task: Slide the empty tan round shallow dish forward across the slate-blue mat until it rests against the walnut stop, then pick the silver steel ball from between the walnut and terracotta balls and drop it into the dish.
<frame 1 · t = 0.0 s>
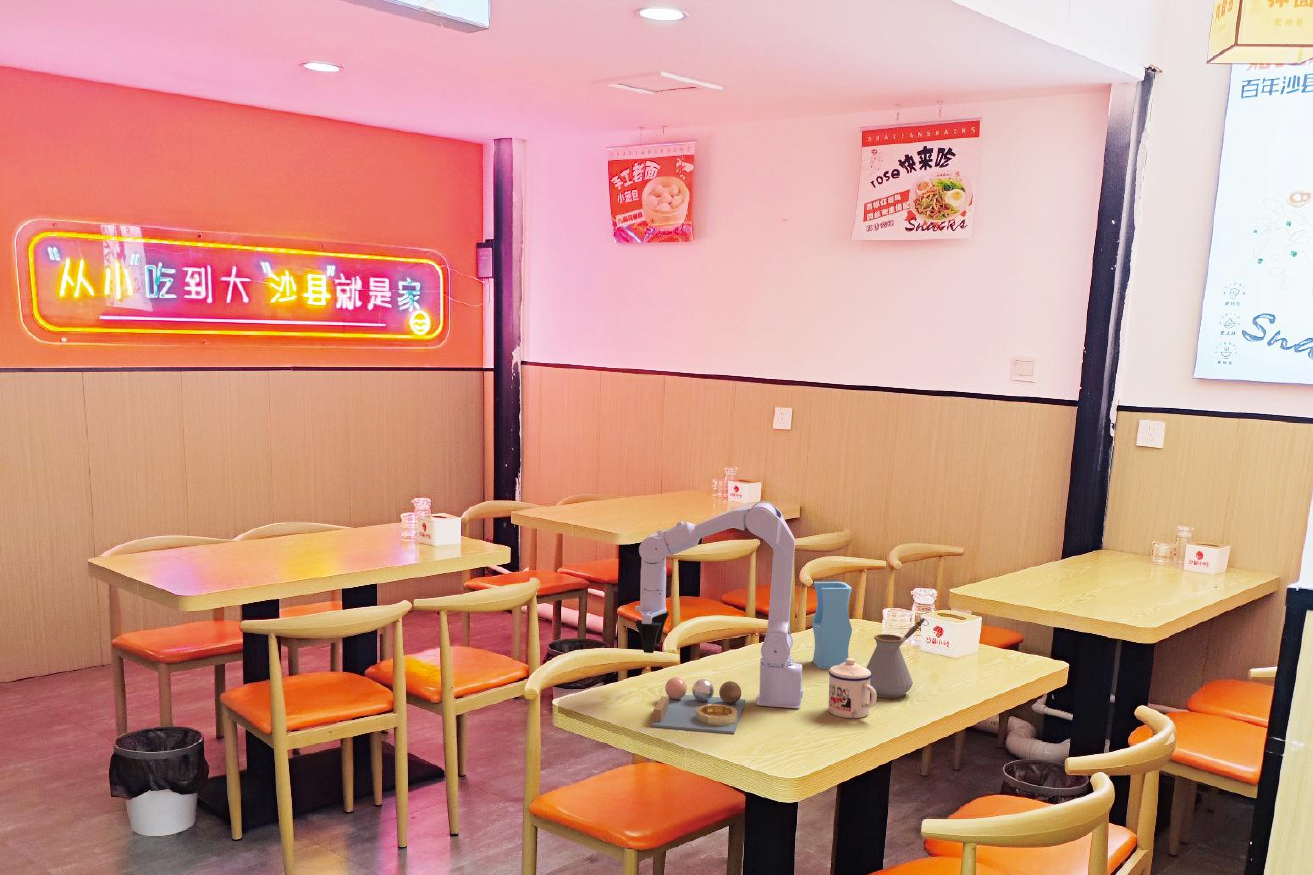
hand: (652, 648, 241), 10 cm above the table, tool pointing down, fingers open, 7 cm apart
vase: (830, 665, 267), on the table
coffee pot: (898, 689, 248), on the table
teacup with lid: (853, 714, 230), on the table
terracotta ball: (675, 688, 236), point 3 cm above the table, touching slate mat
tan round shallow dish: (716, 719, 223), resting on slate mat
walnut ball: (730, 692, 234), point 3 cm above the table, touching slate mat
silver steel ball: (703, 690, 235), point 3 cm above the table, touching slate mat
slate mat: (700, 713, 228), on the table
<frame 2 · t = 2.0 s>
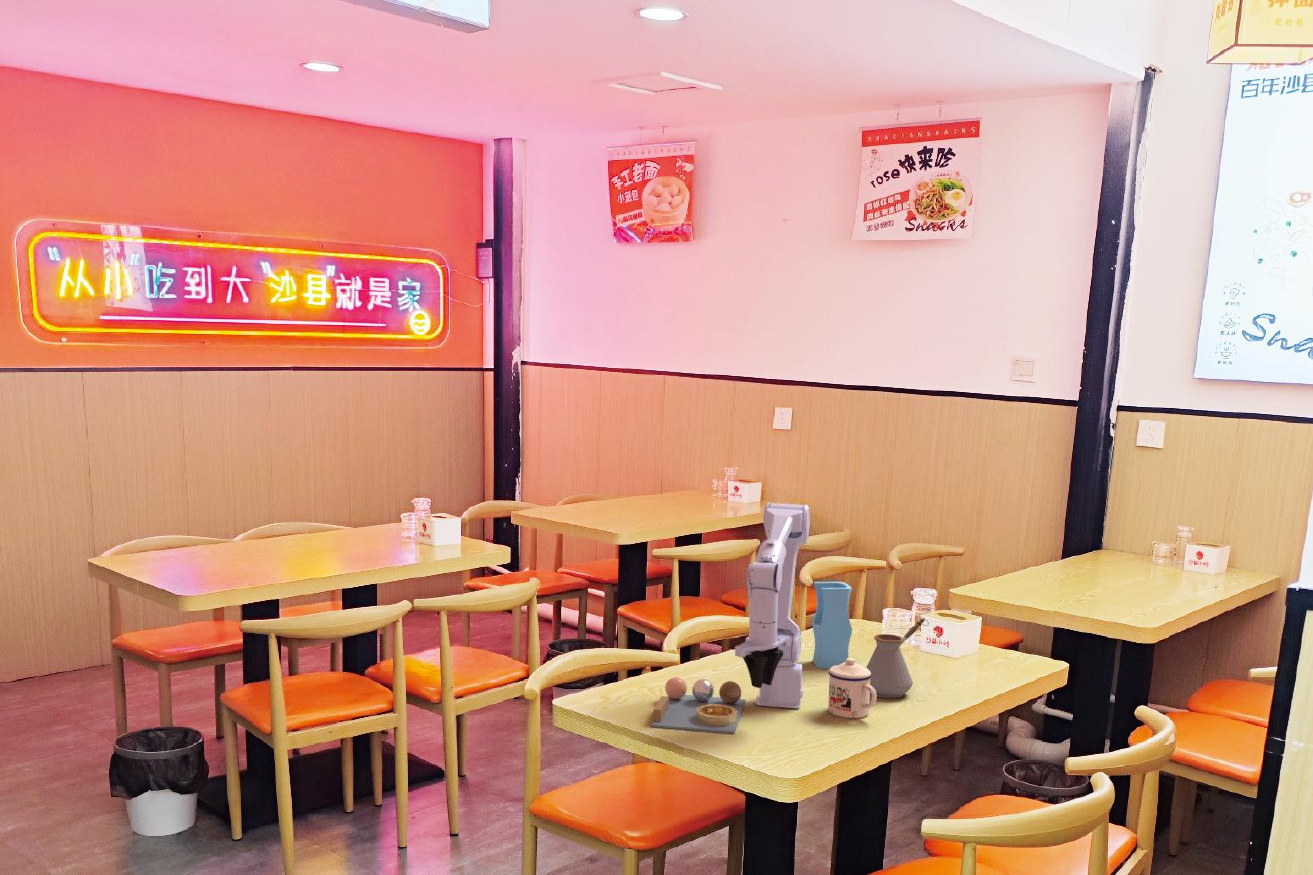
hand: (761, 685, 221), 8 cm above the table, tool pointing down, fingers closed
nothing on the table moved.
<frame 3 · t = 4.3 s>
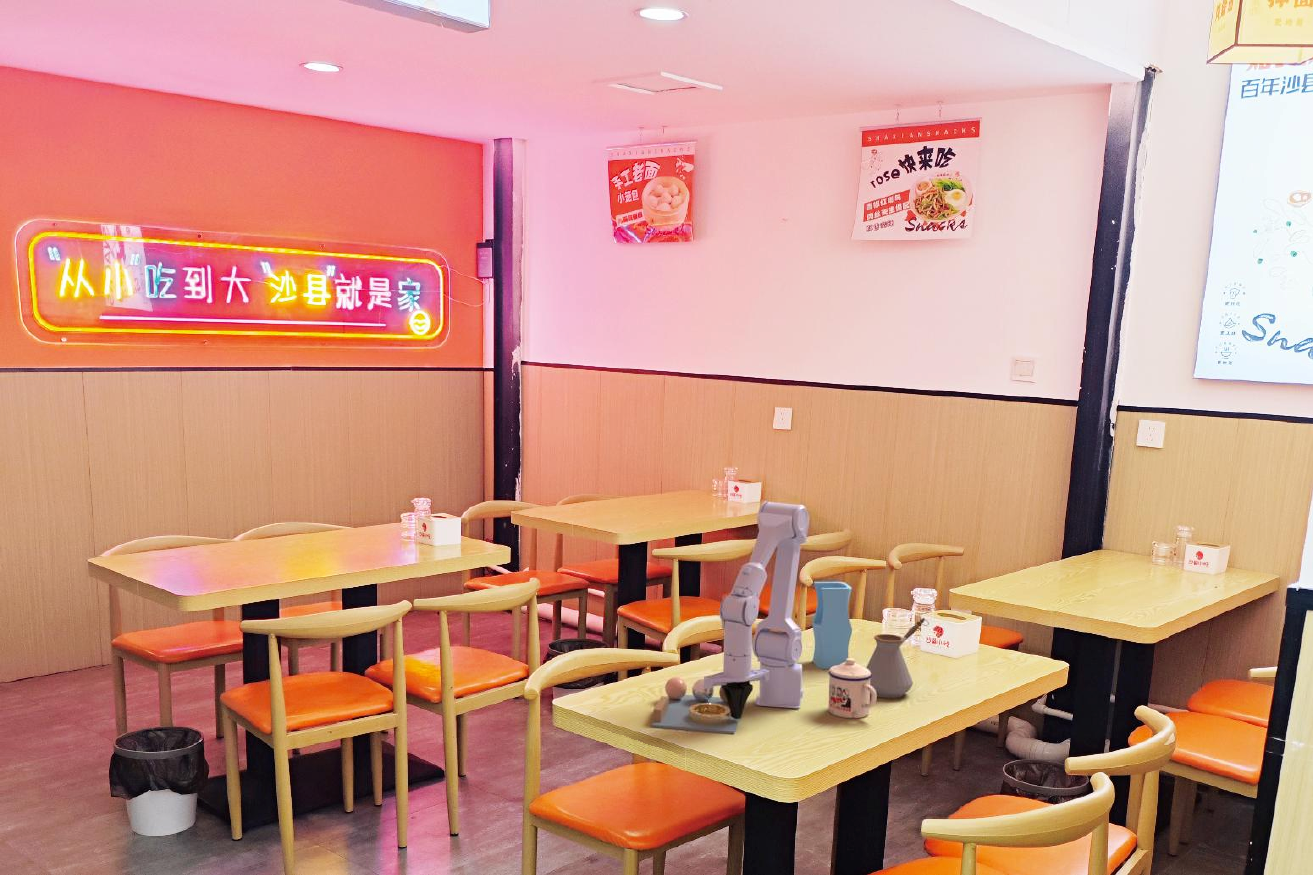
hand: (735, 717, 222), 1 cm above the table, tool pointing down, fingers closed
tan round shallow dish: (709, 717, 224), point 1 cm above the table, touching gripper, slate mat
everything else where it was.
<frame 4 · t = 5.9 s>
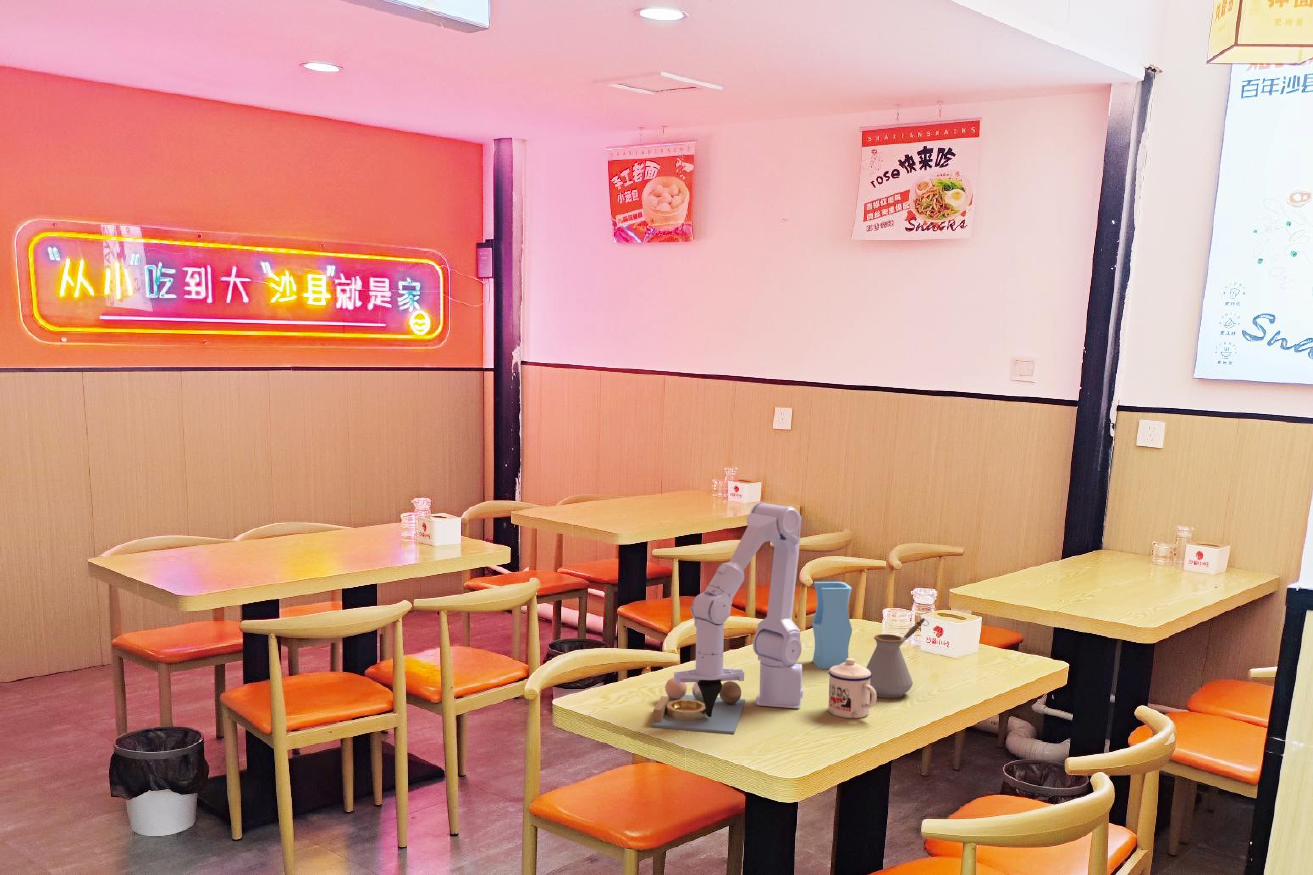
hand: (708, 715, 223), 1 cm above the table, tool pointing down, fingers closed, pressing on tan round shallow dish
tan round shallow dish: (686, 713, 226), point 1 cm above the table, touching gripper, slate mat
everything else where it was.
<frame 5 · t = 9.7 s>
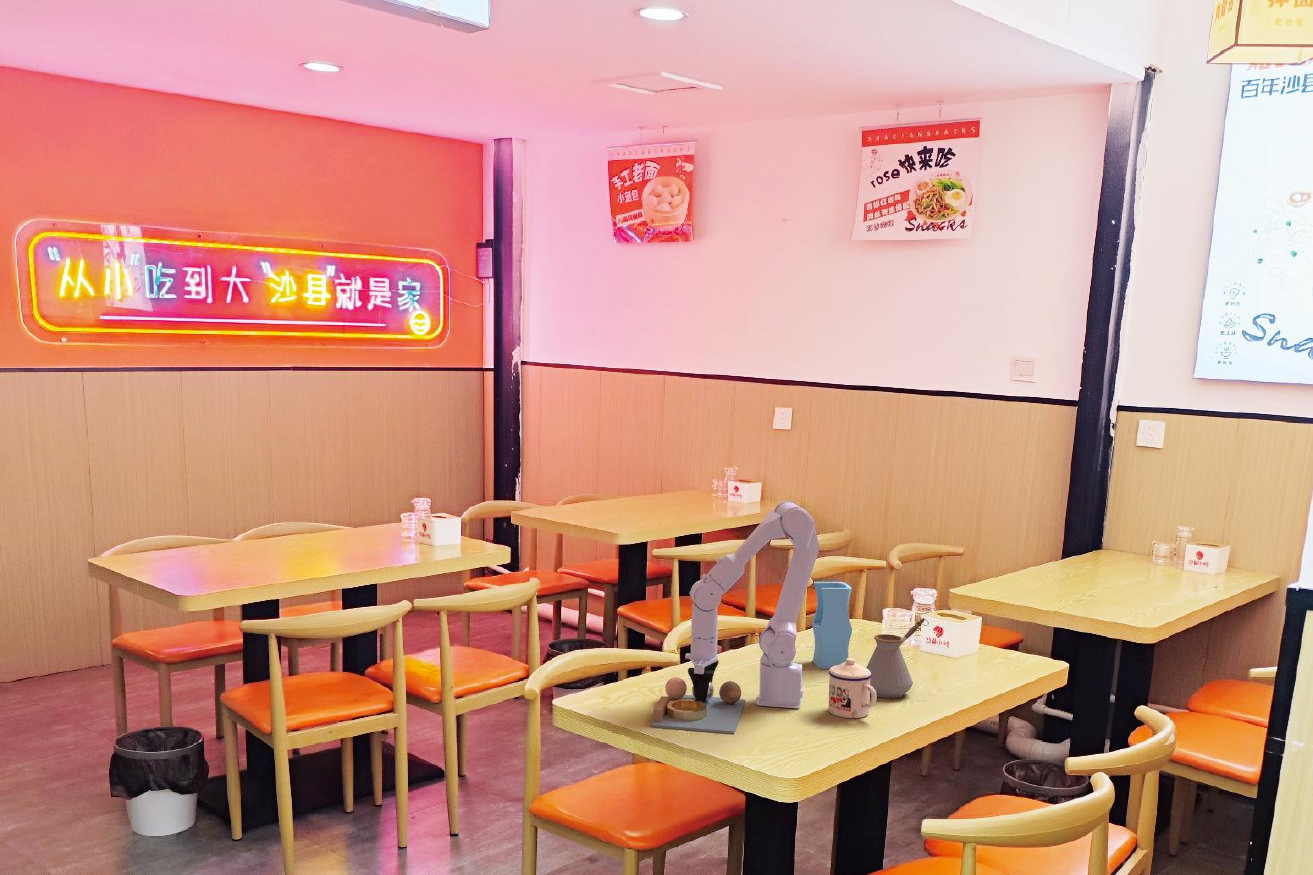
hand: (702, 697, 235), 1 cm above the table, tool pointing down, fingers closed on silver steel ball, 5 cm apart
tan round shallow dish: (686, 713, 226), resting on slate mat
silver steel ball: (703, 690, 235), point 3 cm above the table, touching gripper, slate mat
everything else where it was.
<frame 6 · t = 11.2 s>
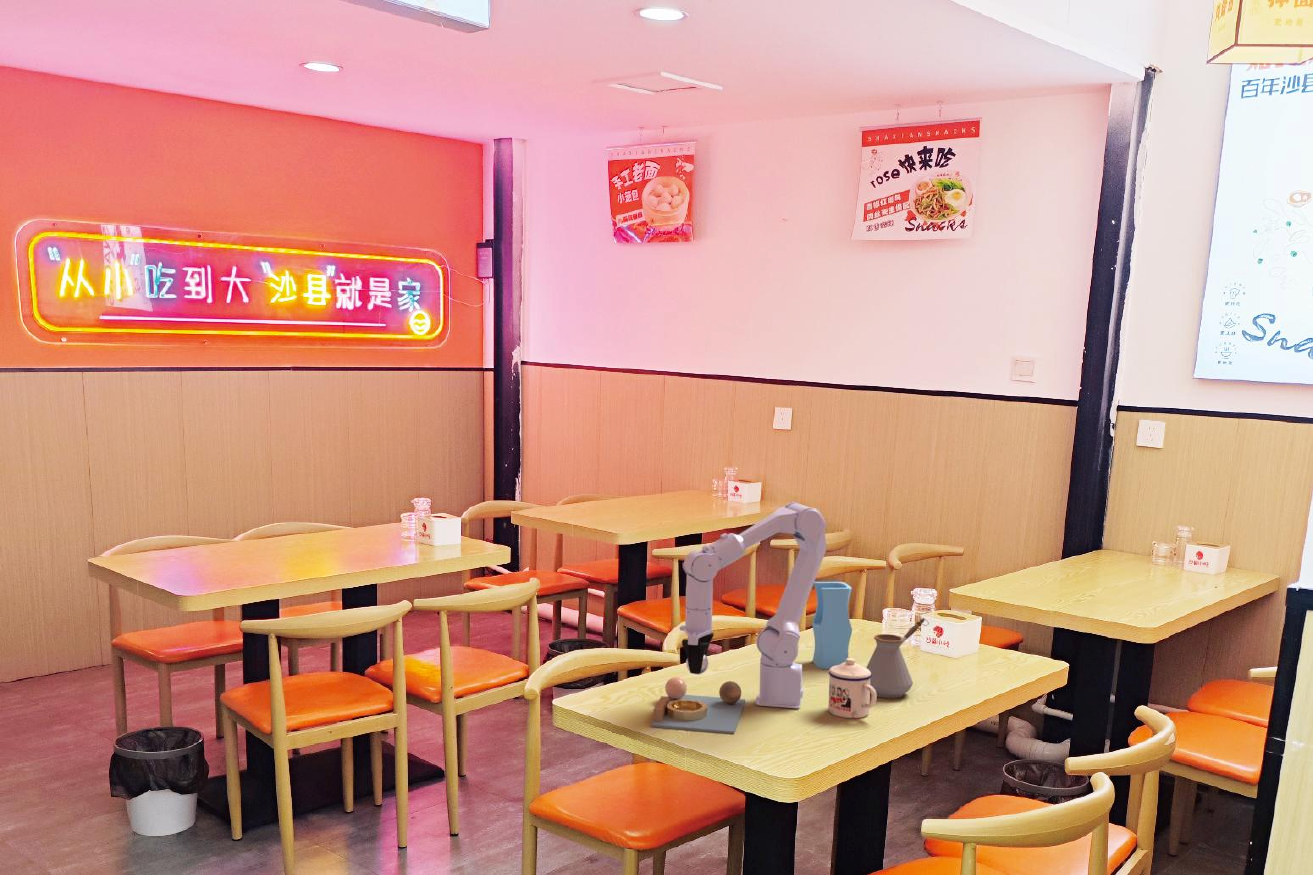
hand: (697, 669, 231), 8 cm above the table, tool pointing down, fingers closed on silver steel ball, 5 cm apart
silver steel ball: (697, 663, 231), point 10 cm above the table, touching gripper
everything else where it was.
when the fingers open (3 cm above the table, at t = 13.1 s): silver steel ball drops 1 cm and tips over, resting on tan round shallow dish.
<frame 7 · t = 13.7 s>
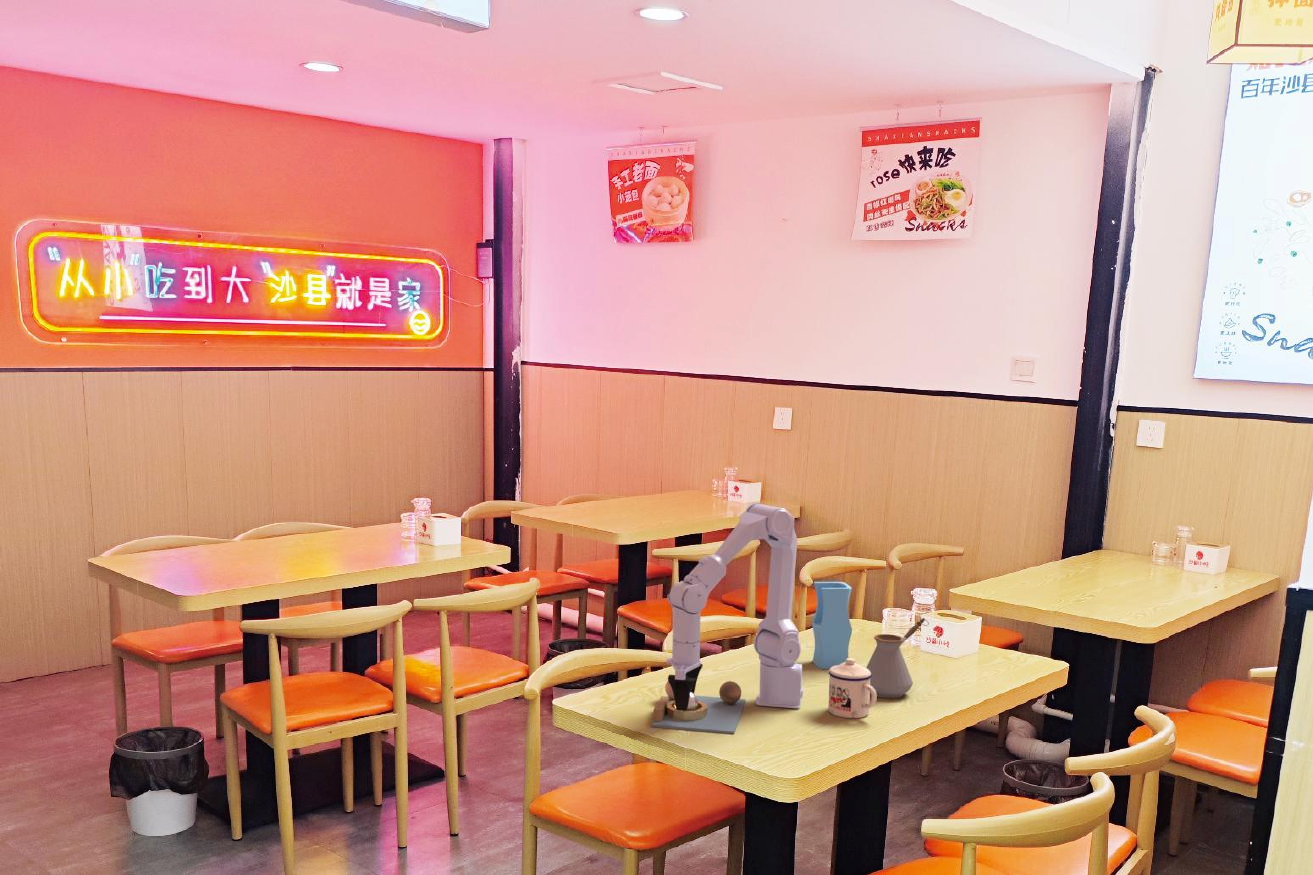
hand: (684, 703, 224), 3 cm above the table, tool pointing down, fingers open, 7 cm apart
tan round shallow dish: (686, 713, 226), resting on slate mat, touching silver steel ball
silver steel ball: (686, 702, 225), point 3 cm above the table, tilted 35°, touching tan round shallow dish, gripper
everything else where it was.
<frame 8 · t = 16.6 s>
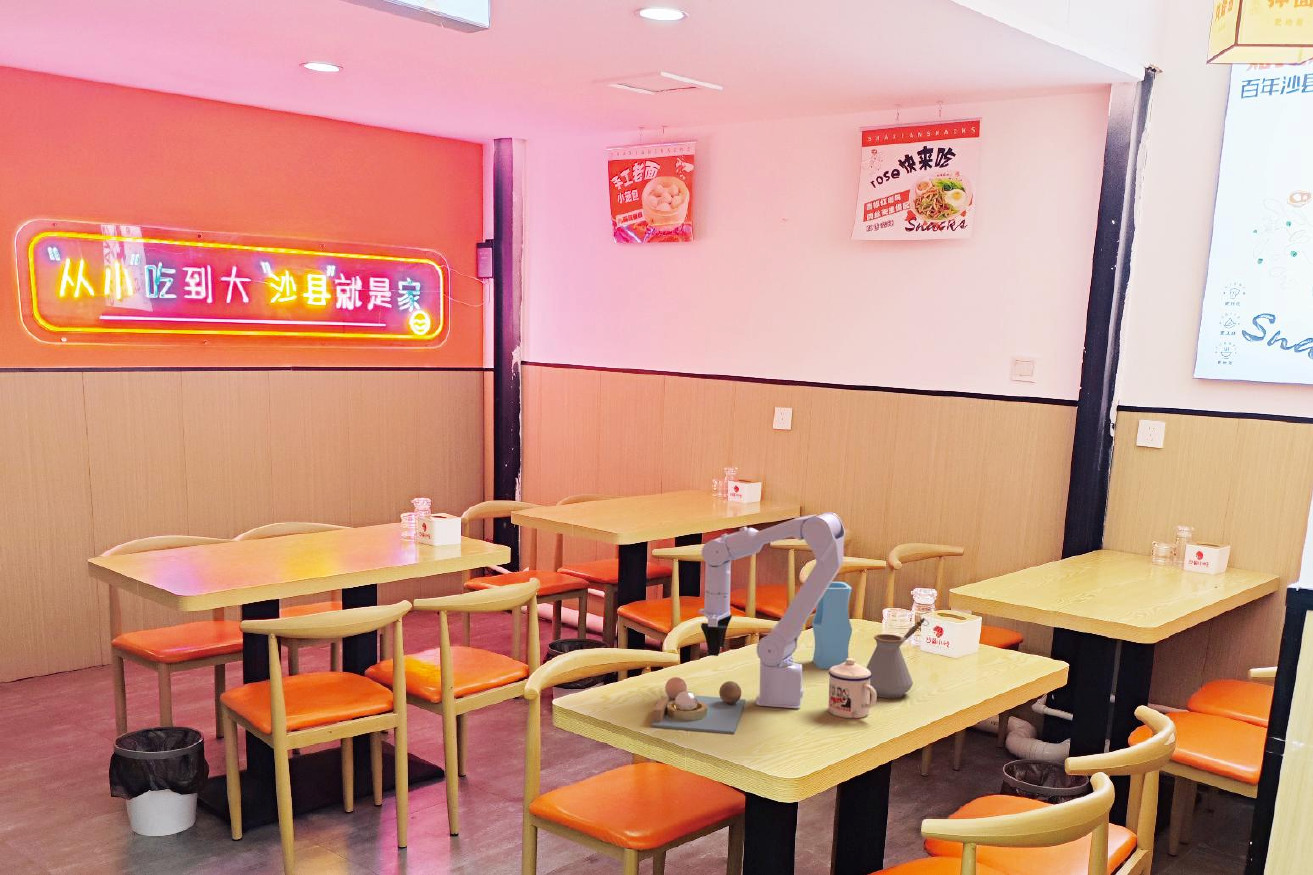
hand: (716, 650, 243), 9 cm above the table, tool pointing down, fingers open, 7 cm apart
silver steel ball: (686, 702, 225), point 3 cm above the table, tilted 28°, touching tan round shallow dish
everything else where it was.
at the end: tan round shallow dish 1.7 cm from the target spot, point 0.5 cm above the table; silver steel ball 0.9 cm from the tan round shallow dish (horizontally); silver steel ball point 3.2 cm above the table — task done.
